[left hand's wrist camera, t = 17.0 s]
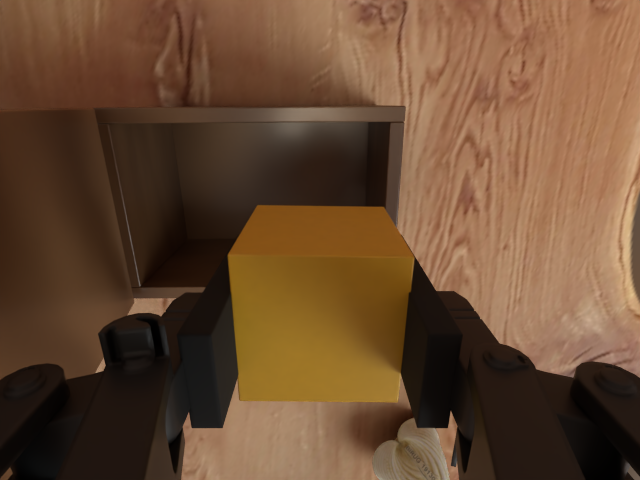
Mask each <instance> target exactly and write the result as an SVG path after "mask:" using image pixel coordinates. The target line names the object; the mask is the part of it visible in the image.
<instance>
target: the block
mask: <svg viewBox="0 0 640 480" xmlns="http://www.w3.org/2000/svg"><path fill="white" fill-rule="evenodd" d="M414 259H415V258H414V255H413V254H412V252H411V251H410V249H409V247H408V246H407V244H406V242H405V241H404V239H403V238H402V236H401V234H400V233H399V231H398V229H397V228H396V226H395V225H394V223H393V221H392V220H391V218H390V216H389V215H388V213H387V212H386V210H385V208H384V207H358V206H284V205H257V207H256V208H255V210H254V212H253V213H252V215H251V217H250V218H249V220H248V222H247V223H246V225H245V227H244V228H243V230H242V232H241V233H240V235H239V237H238V238H237V240H236V242H235V243H234V245H233V247H232V248H231V250H230V252H229V253H228V267H229V280H230V292H231V301H232V311H233V321H234V332H235V342H236V353H237V363H238V378H237V379H238V391H239V400H240V401H309V402H398V398H399V389H400V380H401V367H402V357H403V347H404V337H405V327H406V317H407V307H408V296H409V292H411V285H412V276H413V268H414Z"/></svg>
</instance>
